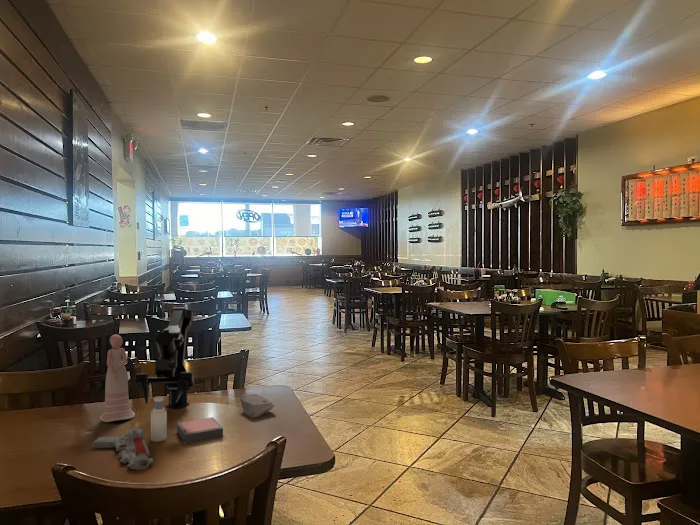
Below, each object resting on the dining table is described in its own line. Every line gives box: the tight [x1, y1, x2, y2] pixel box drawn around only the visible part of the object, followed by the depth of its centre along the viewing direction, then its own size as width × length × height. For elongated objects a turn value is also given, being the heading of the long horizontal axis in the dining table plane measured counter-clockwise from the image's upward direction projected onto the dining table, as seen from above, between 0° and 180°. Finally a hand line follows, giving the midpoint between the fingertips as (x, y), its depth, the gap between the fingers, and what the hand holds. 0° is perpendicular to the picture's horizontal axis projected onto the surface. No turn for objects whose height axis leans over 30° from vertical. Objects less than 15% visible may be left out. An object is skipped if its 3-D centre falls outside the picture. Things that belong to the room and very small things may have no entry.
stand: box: [176, 417, 224, 445], centre depth 170 cm, size 12×12×3 cm
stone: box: [239, 393, 275, 419], centre depth 193 cm, size 13×10×6 cm
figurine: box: [99, 334, 136, 423], centre depth 186 cm, size 13×13×30 cm
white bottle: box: [150, 395, 168, 443], centre depth 166 cm, size 5×5×14 cm
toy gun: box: [91, 427, 154, 471], centre depth 154 cm, size 4×27×15 cm
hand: (161, 402), depth 169 cm, fingers open, 9 cm apart
